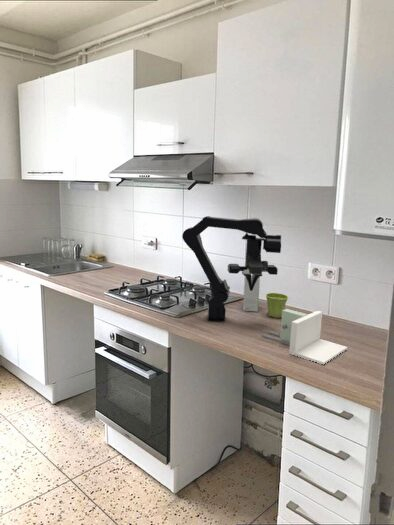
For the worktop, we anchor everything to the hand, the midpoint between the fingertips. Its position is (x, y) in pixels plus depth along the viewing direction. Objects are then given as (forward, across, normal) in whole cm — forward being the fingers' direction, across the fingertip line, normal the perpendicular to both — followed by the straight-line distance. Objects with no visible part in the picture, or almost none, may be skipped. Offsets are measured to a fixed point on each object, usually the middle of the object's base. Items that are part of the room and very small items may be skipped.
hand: (250, 290), depth 163 cm
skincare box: (+13, +4, +18) cm, 23 cm away
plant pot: (+13, +13, +9) cm, 21 cm away
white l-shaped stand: (+13, +13, -23) cm, 30 cm away
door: (+13, +11, -21) cm, 28 cm away
